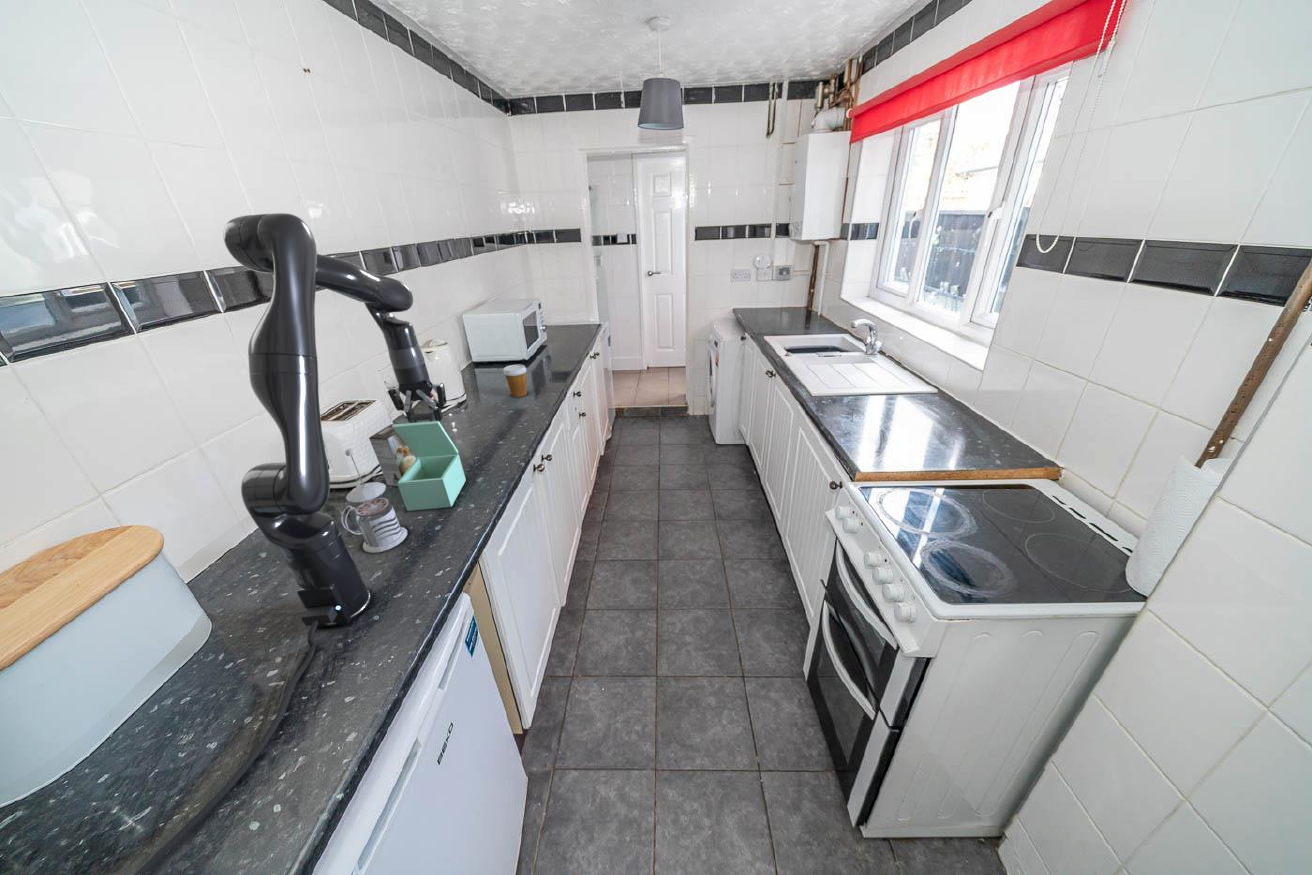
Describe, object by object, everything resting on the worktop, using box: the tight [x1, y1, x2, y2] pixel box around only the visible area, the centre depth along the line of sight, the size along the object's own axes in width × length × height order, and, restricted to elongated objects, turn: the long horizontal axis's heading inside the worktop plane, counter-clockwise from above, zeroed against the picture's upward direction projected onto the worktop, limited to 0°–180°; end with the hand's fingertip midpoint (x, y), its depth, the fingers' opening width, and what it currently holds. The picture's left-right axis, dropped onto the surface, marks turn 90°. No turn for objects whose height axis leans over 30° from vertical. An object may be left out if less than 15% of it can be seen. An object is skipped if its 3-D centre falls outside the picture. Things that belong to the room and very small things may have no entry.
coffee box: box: [368, 423, 420, 487], centre depth 133 cm, size 9×6×16 cm
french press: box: [340, 448, 408, 554], centre depth 104 cm, size 10×12×25 cm
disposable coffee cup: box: [502, 364, 528, 398], centre depth 193 cm, size 10×10×12 cm
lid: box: [392, 412, 459, 457], centre depth 125 cm, size 14×12×6 cm
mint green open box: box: [397, 453, 467, 512], centre depth 125 cm, size 14×12×9 cm
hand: (426, 421), depth 124 cm, fingers closed on lid, 6 cm apart
